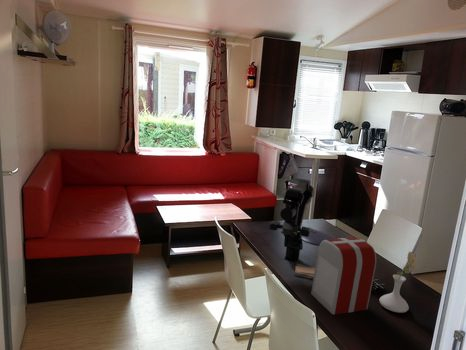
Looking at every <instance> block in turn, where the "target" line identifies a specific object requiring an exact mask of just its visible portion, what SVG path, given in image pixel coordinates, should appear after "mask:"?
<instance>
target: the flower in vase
mask: <svg viewBox="0 0 466 350" xmlns="http://www.w3.org/2000/svg"><path fill="white" fill-rule="evenodd" d="M408 251H409V250H408ZM406 259H407V262H406V264H405V265H404V266H403V268H402V270H401V271H400V270H398V271H397V272H396V273H397V274H393V275H392V277H393V280H394V285H393V286H394V287H393V291H392V292H390V293H386V294H383V295H382V296H380V298H379V303H380V305H381V306H382V307H384V308H385V309H387V310H389V311H391V312H394V313H399V314H401V313H402V314H403V313H406V312H407V311H409V309H410V308H409V307H410V306H409V305H408V303H407V301H406V299H404V298H403V296H401V294H400V291H401V287H402V284H403V283H404V282H405V281H406V280H407V278H406V277H405V276H403V275H404V273H405V274H408V273H409V272H410V271H414V272H416V271H417V270H418V262H419V261H417V257H416V255H414V252H413V251H409V252H408V253H407V257H406ZM407 265H408V266H409V268H410V270H409V268H408V267H407ZM403 272H404V273H403Z"/></svg>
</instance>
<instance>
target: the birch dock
mask: <svg viewBox="0 0 466 350" xmlns="http://www.w3.org/2000/svg"><path fill="white" fill-rule="evenodd" d="M296 266H302V267H308V268H315V267H313V266H309V265H304V264H301V263H300V264H299V263H297V264H296ZM293 276H297V277H302V278H305V279H310V280H313V279H314V276H313V275H309V274H305V273H300V272H296V271H294V274H293Z"/></svg>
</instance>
